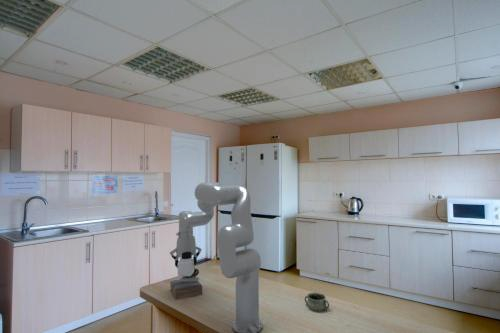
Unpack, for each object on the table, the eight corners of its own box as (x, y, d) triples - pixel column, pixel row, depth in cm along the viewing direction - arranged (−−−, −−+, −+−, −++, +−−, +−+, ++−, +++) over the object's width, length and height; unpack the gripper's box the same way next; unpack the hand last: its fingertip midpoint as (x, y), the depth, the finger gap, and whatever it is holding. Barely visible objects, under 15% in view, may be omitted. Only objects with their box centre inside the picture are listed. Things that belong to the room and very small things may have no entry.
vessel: (301, 310, 132) (300, 296, 133) (308, 302, 140) (307, 289, 140) (326, 316, 126) (326, 302, 126) (332, 308, 133) (332, 295, 133)
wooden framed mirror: (202, 294, 151) (202, 284, 151) (175, 299, 145) (175, 289, 145) (195, 285, 163) (195, 276, 163) (170, 289, 157) (170, 280, 157)
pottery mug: (177, 280, 170) (178, 266, 175) (185, 282, 178) (186, 269, 182) (195, 278, 168) (196, 263, 172) (203, 280, 175) (203, 266, 180)
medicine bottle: (194, 271, 156) (194, 249, 156) (190, 276, 149) (190, 253, 149) (181, 271, 156) (181, 249, 157) (177, 276, 149) (177, 253, 150)
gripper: (171, 237, 148) (171, 270, 147) (203, 233, 155) (203, 265, 155) (168, 234, 154) (168, 266, 154) (199, 231, 162) (199, 261, 162)
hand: (186, 265), depth 154 cm, fingers closed on medicine bottle, 9 cm apart
